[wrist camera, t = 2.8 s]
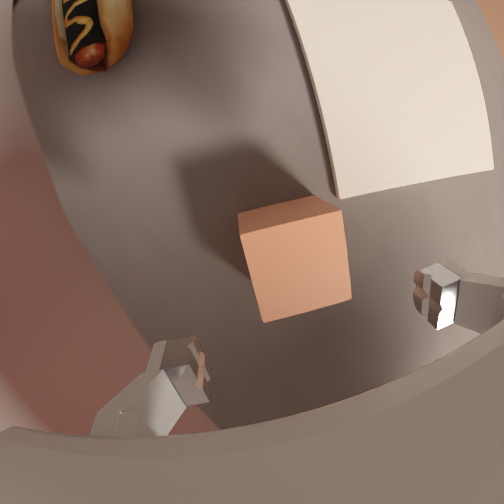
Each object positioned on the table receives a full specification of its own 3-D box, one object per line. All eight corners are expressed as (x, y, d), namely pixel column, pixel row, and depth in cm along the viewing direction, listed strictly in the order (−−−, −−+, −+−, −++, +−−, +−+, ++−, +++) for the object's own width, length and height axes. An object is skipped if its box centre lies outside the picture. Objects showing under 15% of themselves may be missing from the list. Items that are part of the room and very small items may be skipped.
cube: (325, 265, 20) (351, 299, 15) (255, 283, 20) (263, 323, 15) (313, 194, 18) (341, 210, 13) (237, 213, 18) (239, 234, 13)
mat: (489, 168, 18) (493, 169, 17) (336, 198, 18) (339, 199, 17) (447, 3, 12) (451, 1, 12) (278, -16, 13) (279, -20, 12)
